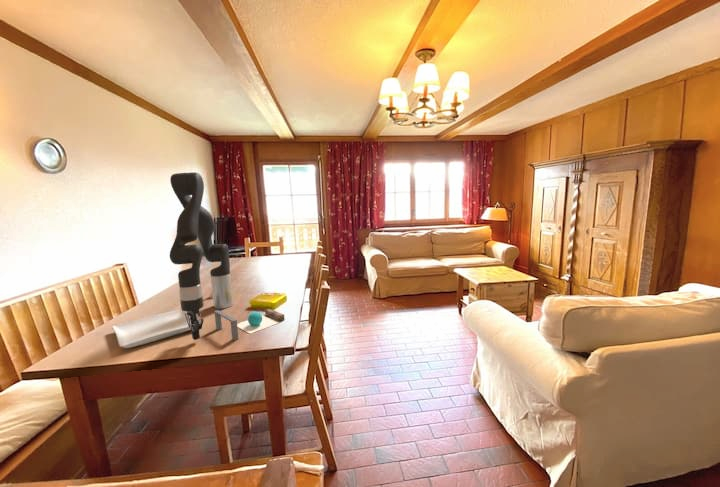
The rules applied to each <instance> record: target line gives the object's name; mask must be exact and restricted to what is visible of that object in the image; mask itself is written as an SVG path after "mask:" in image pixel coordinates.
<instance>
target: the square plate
mask: <svg viewBox="0 0 720 487" xmlns="http://www.w3.org/2000/svg"><path fill="white" fill-rule="evenodd" d="M186 313H187V311H182V309H181V308H180V309H177V310H172V311H168V312H163V313H159V314H155V315H149V316H145V317H142V318H138V319H134V320H130V321H127V322H123V323H119V324H116V325H112V327H111V329H112V330H113V332H114V334H115V336H116V339H117V342H118V346H119V347H120V348H121V347H122V348H124V349H130V348H131V349H132V348H134V347H139V346H143V345H147V344H150V343H153V342H157V341H160V340H163V339H167V338H169V337H174V336H177V335H180V334H184V333H186V332H189V331H192V330H191V329H190V327H189V326H188V323H187V320H186V317H185V314H186Z"/></svg>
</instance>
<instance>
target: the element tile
mask: <svg viewBox="0 0 720 487" xmlns="http://www.w3.org/2000/svg"><path fill="white" fill-rule="evenodd" d="M287 298H288V296H287V293H282V292H270V291H269V292H267V291H266V292H262V293H260V294H258V295H257V296H255V297H253V298H251V299H249V301H248V304H249V308H250V309H255V310H264V311H265V310H266V309H271V310H274V311H275V310H276V309H278V308H279V307H281V306H282V305H283V304H285V303H286V302H287V301H288V300H287Z"/></svg>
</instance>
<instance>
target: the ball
mask: <svg viewBox="0 0 720 487" xmlns="http://www.w3.org/2000/svg"><path fill="white" fill-rule="evenodd" d="M262 315H263V314H261V313H260V312H259V311H252V312H251V313H250V314H249V315H248V317H247V320H248V322H249V324H250V325H252V326H257V325H259V324H260V323H261V322H262Z"/></svg>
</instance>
